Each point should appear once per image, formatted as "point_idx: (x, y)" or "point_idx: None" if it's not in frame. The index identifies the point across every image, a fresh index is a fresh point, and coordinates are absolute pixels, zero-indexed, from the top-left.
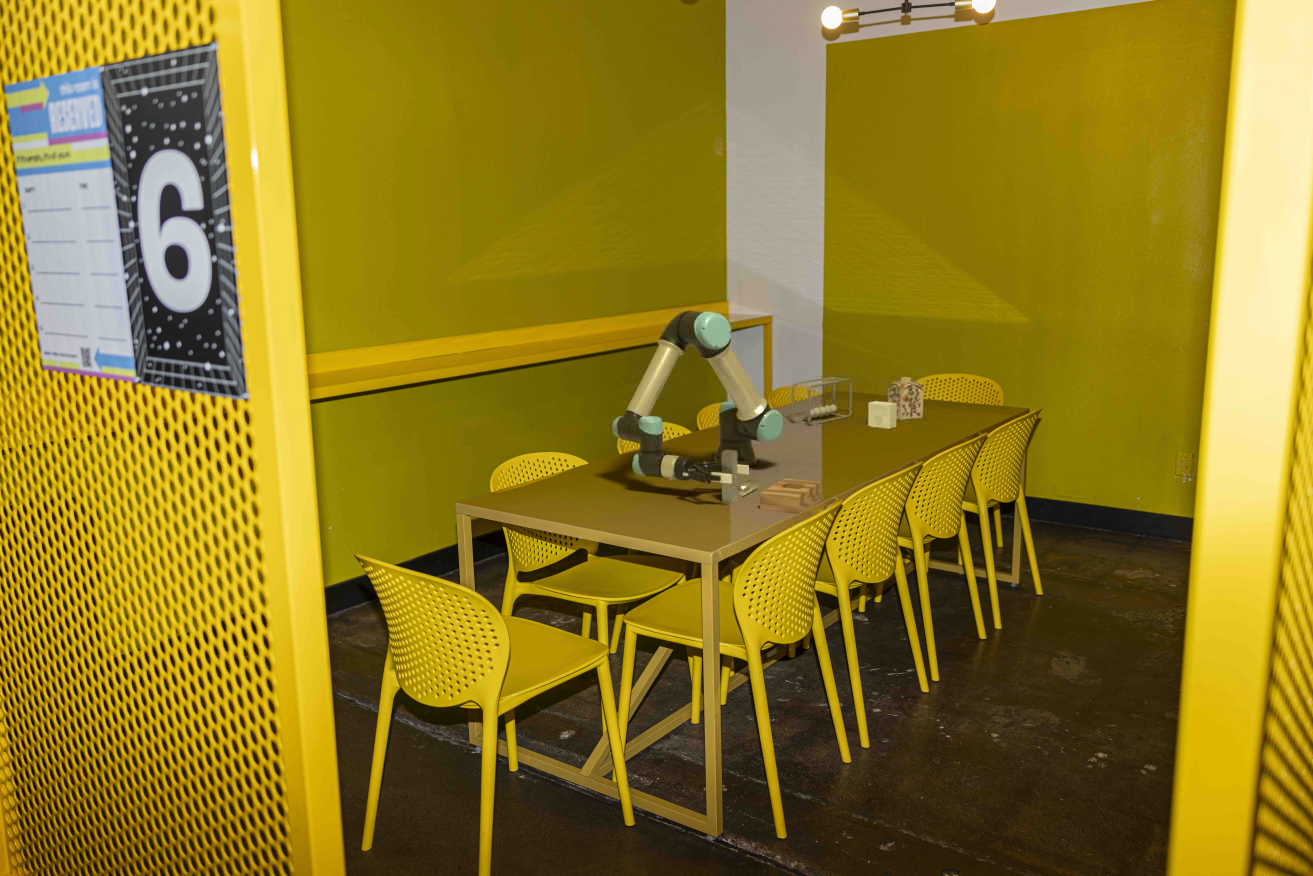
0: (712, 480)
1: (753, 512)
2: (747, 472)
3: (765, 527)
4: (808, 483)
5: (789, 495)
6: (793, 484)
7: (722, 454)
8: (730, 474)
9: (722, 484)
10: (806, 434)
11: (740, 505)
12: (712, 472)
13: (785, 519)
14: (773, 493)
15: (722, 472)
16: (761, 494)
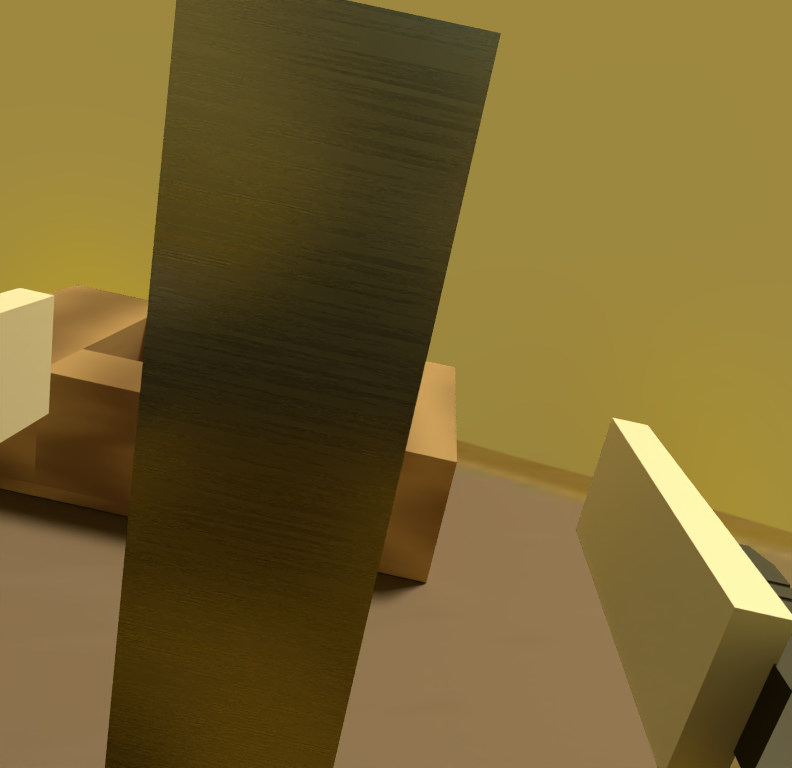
0: (717, 754)
1: (541, 614)
2: (43, 389)
3: (771, 554)
4: (112, 309)
5: (438, 380)
6: (105, 346)
7: (482, 108)
8: (628, 426)
9: (335, 745)
10: None
11: (375, 722)
12: (748, 608)
13: (568, 492)
14: (430, 417)
15: (383, 534)
16: (453, 468)
